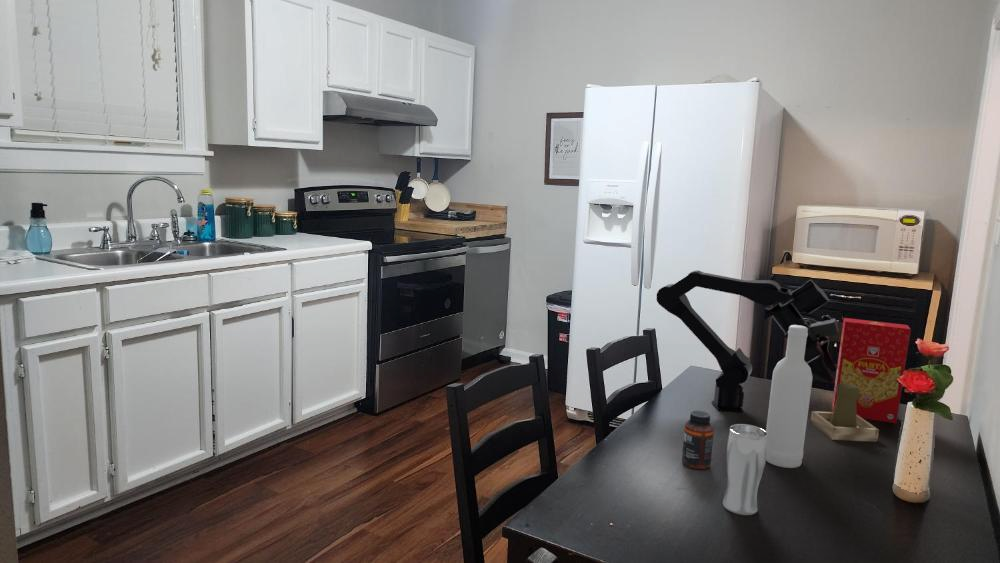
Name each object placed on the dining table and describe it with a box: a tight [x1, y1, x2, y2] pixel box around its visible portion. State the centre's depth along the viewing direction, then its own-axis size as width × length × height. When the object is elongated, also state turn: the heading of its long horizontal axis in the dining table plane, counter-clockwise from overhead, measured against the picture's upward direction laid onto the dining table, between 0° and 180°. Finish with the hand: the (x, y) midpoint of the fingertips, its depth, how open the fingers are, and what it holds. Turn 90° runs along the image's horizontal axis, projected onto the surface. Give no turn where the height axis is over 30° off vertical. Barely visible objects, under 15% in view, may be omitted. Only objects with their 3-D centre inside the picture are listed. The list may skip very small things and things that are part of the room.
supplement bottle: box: [681, 410, 715, 470], centre depth 142 cm, size 6×6×11 cm
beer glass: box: [722, 423, 768, 516], centre depth 124 cm, size 7×7×15 cm
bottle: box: [765, 325, 813, 469], centre depth 144 cm, size 8×8×30 cm
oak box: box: [810, 410, 880, 443], centre depth 165 cm, size 11×11×3 cm
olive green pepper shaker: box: [830, 383, 860, 428], centre depth 164 cm, size 6×6×11 cm
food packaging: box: [831, 317, 912, 424], centre depth 176 cm, size 15×5×25 cm, turn 67°
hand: (833, 376), depth 166 cm, fingers open, 9 cm apart
